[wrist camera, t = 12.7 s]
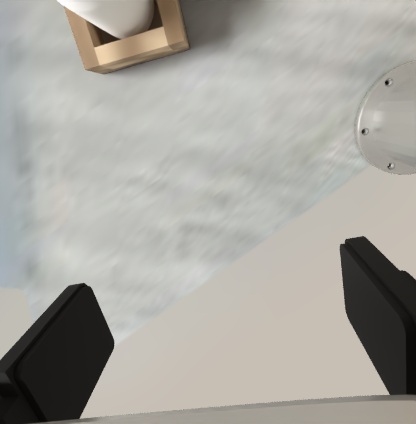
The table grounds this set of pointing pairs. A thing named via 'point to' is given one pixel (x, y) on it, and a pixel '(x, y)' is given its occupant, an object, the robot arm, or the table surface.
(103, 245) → the table surface
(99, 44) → the socket block
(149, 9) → the can
